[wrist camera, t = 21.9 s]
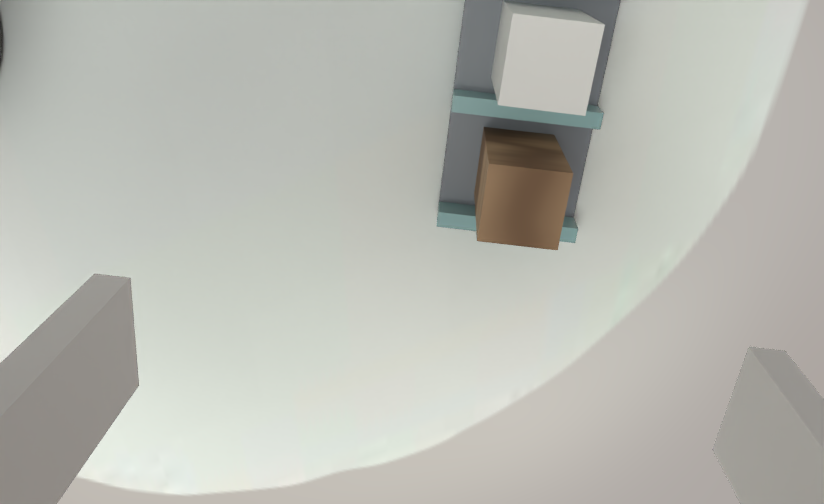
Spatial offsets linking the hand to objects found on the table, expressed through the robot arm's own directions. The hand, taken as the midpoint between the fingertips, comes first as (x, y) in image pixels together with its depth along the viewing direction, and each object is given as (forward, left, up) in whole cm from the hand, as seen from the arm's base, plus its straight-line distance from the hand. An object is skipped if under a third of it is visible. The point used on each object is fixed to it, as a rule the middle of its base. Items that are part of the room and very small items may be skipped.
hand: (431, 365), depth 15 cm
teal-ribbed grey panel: (+5, -1, -32) cm, 32 cm away
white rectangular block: (+5, +3, -31) cm, 32 cm away
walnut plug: (+5, -5, -31) cm, 32 cm away
